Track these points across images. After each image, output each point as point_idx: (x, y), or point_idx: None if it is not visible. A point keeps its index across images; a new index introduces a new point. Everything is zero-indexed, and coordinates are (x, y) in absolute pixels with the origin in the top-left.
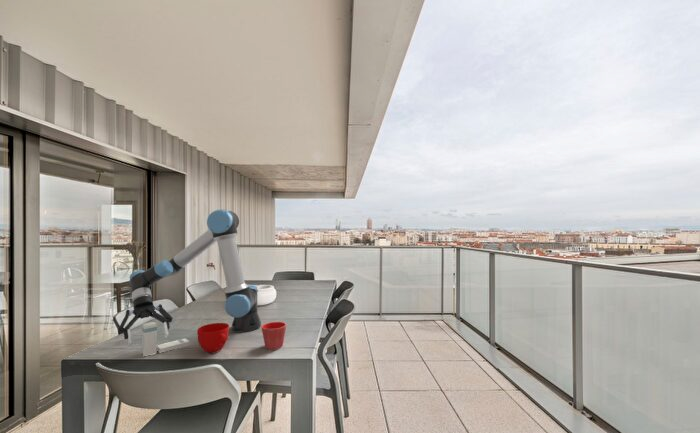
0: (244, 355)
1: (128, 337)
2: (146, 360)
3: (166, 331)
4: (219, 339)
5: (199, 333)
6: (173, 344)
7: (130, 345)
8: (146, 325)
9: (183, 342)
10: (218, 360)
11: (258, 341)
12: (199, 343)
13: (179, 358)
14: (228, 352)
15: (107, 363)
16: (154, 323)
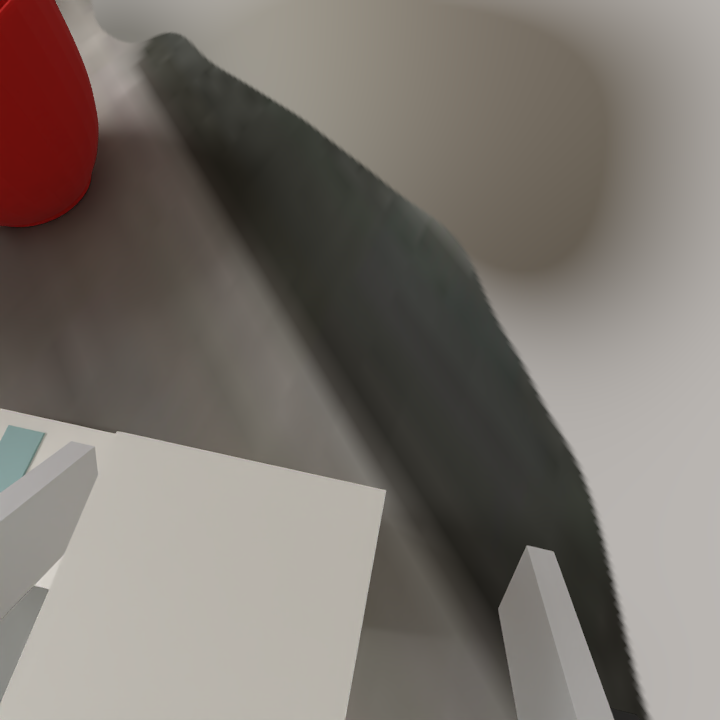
0: None
1: (589, 658)
2: (382, 417)
3: (46, 480)
4: (5, 2)
5: (33, 11)
6: (99, 464)
7: (508, 595)
8: (323, 529)
9: (21, 426)
10: (155, 56)
11: None
12: (80, 133)
13: (236, 245)
14: None
15: (631, 687)
16: (116, 526)
